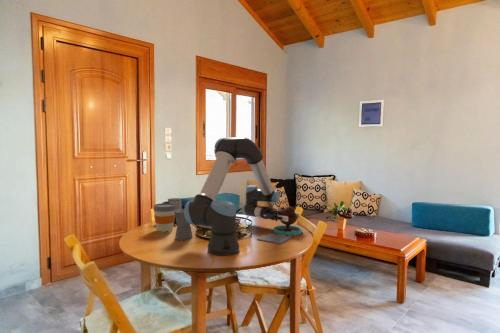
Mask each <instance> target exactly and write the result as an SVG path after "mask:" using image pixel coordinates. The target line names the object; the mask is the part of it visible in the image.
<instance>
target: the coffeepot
mask: <svg viewBox="0 0 500 333" xmlns="http://www.w3.org/2000/svg"><path fill="white" fill-rule="evenodd" d="M185 205H186V204H184V205H183V204H182V205H181V209H179V210H176V211H175V213H174V214H175V216H176V222H177V224H176V225H177V226H176V231H175V238H174V239H175V240H176V239H177V240H176V241H179V240H186V241H191V240H192V239H193V231H192V226H191V224H189V223H188V222H187V221H186V219H185V215H184V208H185Z"/></svg>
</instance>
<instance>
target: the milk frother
mask: <svg viewBox="0 0 500 333" xmlns="http://www.w3.org/2000/svg"><path fill="white" fill-rule="evenodd" d="M182 199H183V198H179V197H177V198H176V197H174V198H173V197H172V198H168V199H167V200H166V201H163V202H162V203H172V204H175V207H176V210H179V209H182ZM176 210H175V211H176ZM173 225H175V226H176V225H177V222H176V216H175V221H174V223H173Z"/></svg>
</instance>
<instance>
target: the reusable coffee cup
mask: <svg viewBox="0 0 500 333" xmlns="http://www.w3.org/2000/svg"><path fill="white" fill-rule="evenodd" d="M175 210H176V207H175V204H172V203H163V202H162V203H157V204H154V205H153V212H154V216H153V217H154V224H155V226H156V231H157V232H158V231H164V232H163V233H167V232H166V231H170V232H172V231H174V224H173V223H174V221H175V214H174V213H175ZM171 230H172V231H171Z"/></svg>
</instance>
